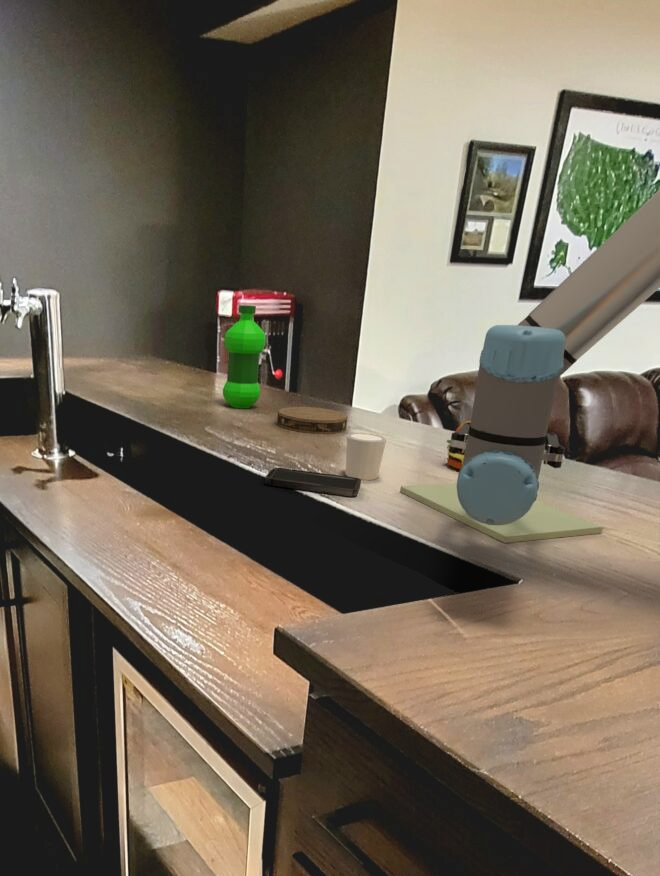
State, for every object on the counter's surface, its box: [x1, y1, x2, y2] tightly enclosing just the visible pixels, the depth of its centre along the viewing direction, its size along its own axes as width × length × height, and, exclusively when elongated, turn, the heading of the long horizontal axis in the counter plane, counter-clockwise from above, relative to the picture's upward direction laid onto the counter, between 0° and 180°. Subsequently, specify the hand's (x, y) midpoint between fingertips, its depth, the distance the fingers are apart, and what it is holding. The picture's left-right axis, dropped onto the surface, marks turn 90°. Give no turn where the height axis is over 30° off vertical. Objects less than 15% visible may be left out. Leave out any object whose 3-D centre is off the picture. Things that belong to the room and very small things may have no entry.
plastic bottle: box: [222, 304, 267, 409], centre depth 182 cm, size 10×10×25 cm
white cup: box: [345, 432, 387, 481], centre depth 126 cm, size 7×7×7 cm
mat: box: [399, 482, 604, 544], centre depth 111 cm, size 24×18×1 cm
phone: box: [264, 467, 362, 497], centre depth 119 cm, size 8×1×15 cm
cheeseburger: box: [446, 420, 471, 470], centre depth 136 cm, size 10×11×10 cm
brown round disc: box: [276, 406, 348, 435], centre depth 166 cm, size 16×16×3 cm
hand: (510, 427), depth 104 cm, fingers closed on bottle, 4 cm apart
